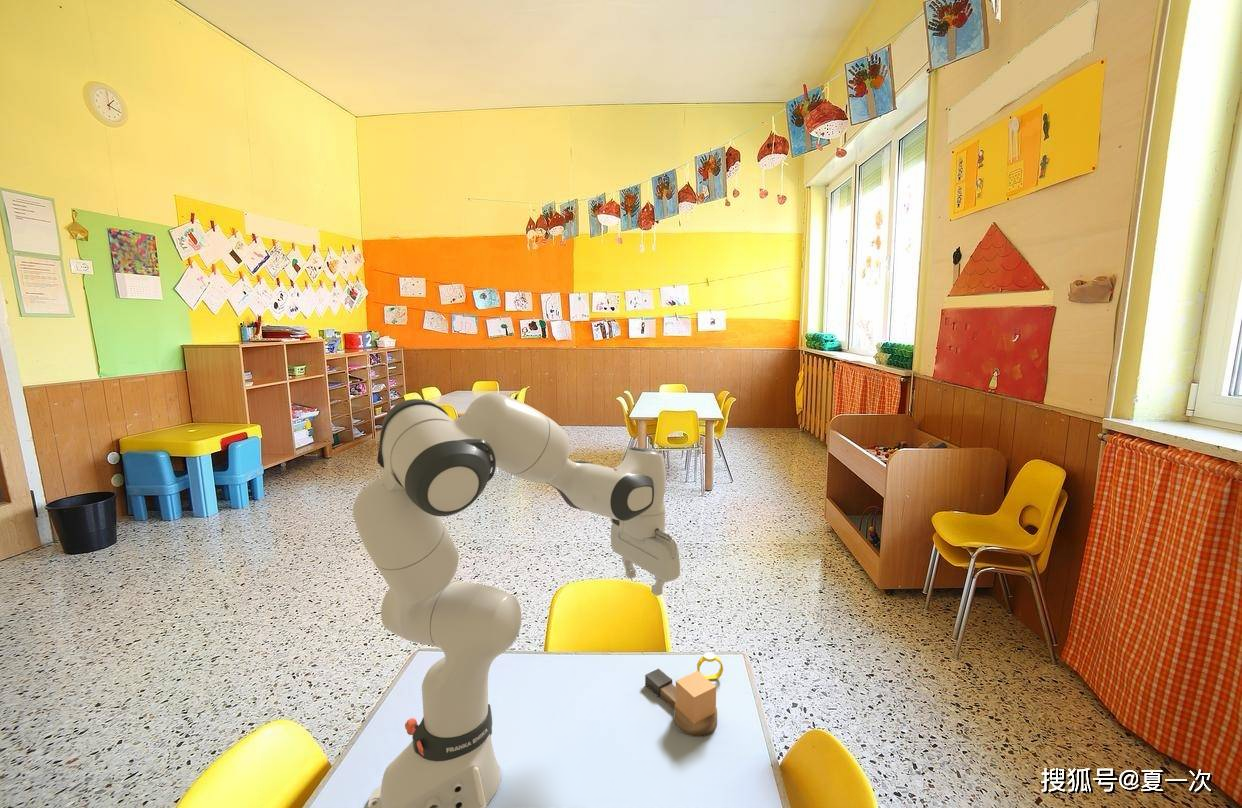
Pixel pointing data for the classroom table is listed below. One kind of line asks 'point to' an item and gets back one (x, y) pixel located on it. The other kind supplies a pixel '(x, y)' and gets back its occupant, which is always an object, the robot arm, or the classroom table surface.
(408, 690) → the classroom table surface
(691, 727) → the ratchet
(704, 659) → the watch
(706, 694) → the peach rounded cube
